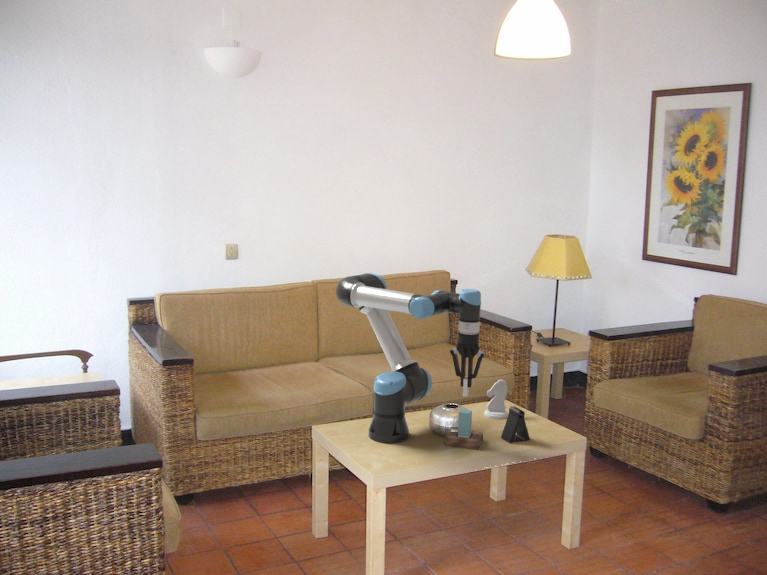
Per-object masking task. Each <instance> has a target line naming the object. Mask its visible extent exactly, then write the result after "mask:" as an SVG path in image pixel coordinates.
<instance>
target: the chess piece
mask: <svg viewBox="0 0 767 575" xmlns="http://www.w3.org/2000/svg"><path fill="white" fill-rule="evenodd" d="M507 394H508V386H507V383H506V381H505V380H503V379H498V380H497V381H496V382H494V384H493V385H492V386H491V388H490V389H488V390H487V392H486V396H487V397H488V398H492V399H491V400H490V401H489V402H488V403H487V405H486V407H487V408H486V409H485V411H484V412H483V415H484V416H485V417H486V418H489V419H491V420H504V419H507V418H508V415H509V412H507V406H506V405H505V401H506V398H507ZM492 396H493V397H492Z"/></svg>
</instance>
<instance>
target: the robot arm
mask: <svg viewBox="0 0 767 575" xmlns="http://www.w3.org/2000/svg"><path fill="white" fill-rule="evenodd" d="M335 295H336V298H337V300H338V301H339V303H341V305H344V306H346V307H351V308H357V309H358V310H359V311H360V313H362V314H364V315H366V317H367V319H368V321H369V324H370V326H371V328H372V330H373V332H374V334H375V336H376V338H377V340H378V343H379V345H380V347H381V349H382V351H383V354H384V355H385V358H386V360H387V362H388V364H389V366H390V368H391V370H390V371H386V372H382V373H380V374H378V375H377V376H376V377H375V379H374V384H373V416H372V419H371V422H370V425H369V427H368V437H369V438H370V439H371V440H373V441H376V442H379V443H380V442H381V443H387V444H389V443H391V444H392V443H393V444H394V443H400V442H404V441H406V440H408V439H409V436H410V430H409V426H408V423H407V420H406V415H405V414H406V405H409V404H411V403H413V402H417V401H420V400H421V399H424V398H426V397H427V396H428V395H429V394H430V392H431V390H432V387H433V381H432V380H433V379H432V377H431V374H430V373H429V371H428V370H427V369H424V368H423V367H420V365H419V363H418V361H417V360H414V359H412V357H411V355H410V353H409V350H408V349H407V347H406V345H405V343H404V340H403V339H402V336H401V335H400V332H399V330H398V328H397V325H396V323H395V322H394V320H393V318H392V315H391V313H390V312H396V313H401V314H406V315H407V314H408V315H412V317H414V318H415V319H418V320H419V319H427V318H431V317H434V316H439V315H442V314H446V313H449V314H454V315H458V334H457V344H456V345H455V347H454V348H451V349H450V351H449V353H450V355H451V356H452V362H453V367H454V372H455V376H456V377H459V378H460V387H462V397H468V396H469V390H470V388H471V387H472V385H473V384H472V383H473V379H476V378H477V377H478V374H479V371H480V367H481V364H482V361H483V358H484V357H485V355H486V352H485V351H483V350H481V347H480V344H479V341H480V334H479V332H480V329H481V328H480V324H481V322H480V321H481V317H480V316H481V307H482V293H481V291H479V290H478V289H475V288H464V289H461V290H459V293H457V292H451V291H446V290H434V291H433V292H432V293H431V294H428V295H427V294H426V295H424V294H418V293H417V294H416V293H413V292H412V293H411V292H406V291H405V292H404V291H398V290H393V289H388V286H387V283H386V281H385V280H384V278H383V277H382V276H380V275H379V274H377V273H371V272H368V273H363V274H357V275H350V276H346V277H343V278H342V279H341V280H339V282H338V284H337V285H336V288H335ZM458 354H459V356H460V358H461V364H460V362H459V357H458ZM476 355H477V357H478V358H477V361H476V364H475V367H474V358H475V356H476ZM467 362H468V363H467ZM466 369H467V375H466Z"/></svg>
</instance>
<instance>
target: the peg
mask: <svg viewBox="0 0 767 575" xmlns="http://www.w3.org/2000/svg"><path fill="white" fill-rule="evenodd" d="M472 416H473V410H471V409H462V408H461V409H460V410H459V412H458V419H457V420H458V426H457V429H458V437H464V438H471V431H472V422H473V421H472V419H473V418H472Z"/></svg>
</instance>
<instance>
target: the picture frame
mask: <svg viewBox="0 0 767 575" xmlns="http://www.w3.org/2000/svg"><path fill="white" fill-rule="evenodd" d="M525 416H526V413H525V411H524V410H523V409H520V408H518V407H516V405H513V406H510V407H509V408H508V417H507V418H506V420H505V421H506V422H505V425H504V427H503V429H502V433H501V435H500V438H501V439H502V440H504V441H506V442H507V443H509V444H515V443H520V442H521V443H523V442H528V441H531V438H530V434H529V431H528V426H527V423H526V420H525Z"/></svg>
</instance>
